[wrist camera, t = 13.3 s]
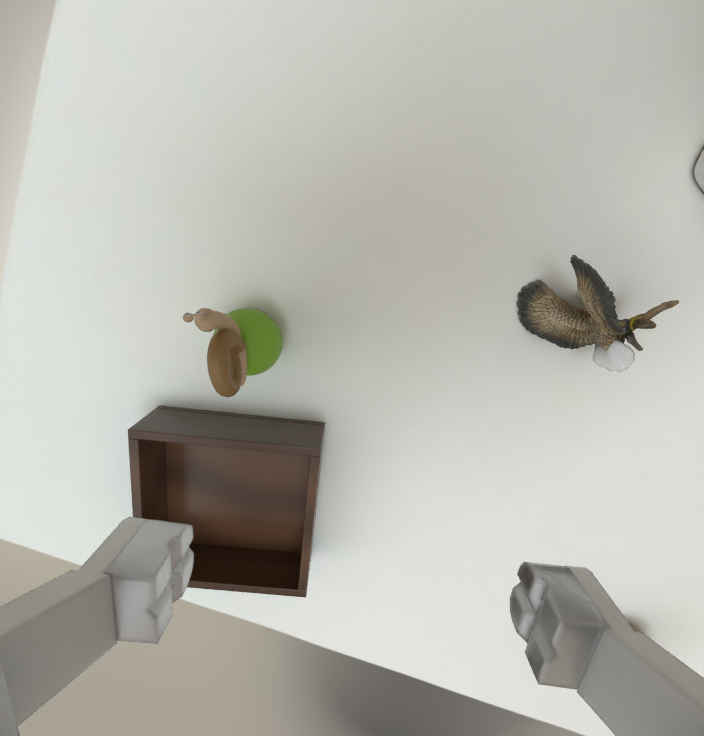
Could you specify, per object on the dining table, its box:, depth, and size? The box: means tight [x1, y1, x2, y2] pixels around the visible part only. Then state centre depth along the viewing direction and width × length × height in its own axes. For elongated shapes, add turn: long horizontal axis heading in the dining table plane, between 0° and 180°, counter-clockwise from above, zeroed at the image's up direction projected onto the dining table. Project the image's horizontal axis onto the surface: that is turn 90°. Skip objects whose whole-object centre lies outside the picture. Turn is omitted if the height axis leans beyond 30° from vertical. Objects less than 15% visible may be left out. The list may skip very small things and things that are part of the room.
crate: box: [128, 406, 325, 597], centre depth 34 cm, size 16×16×5 cm
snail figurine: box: [183, 308, 282, 397], centre depth 27 cm, size 5×6×12 cm
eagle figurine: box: [517, 255, 679, 372], centre depth 29 cm, size 8×7×9 cm
